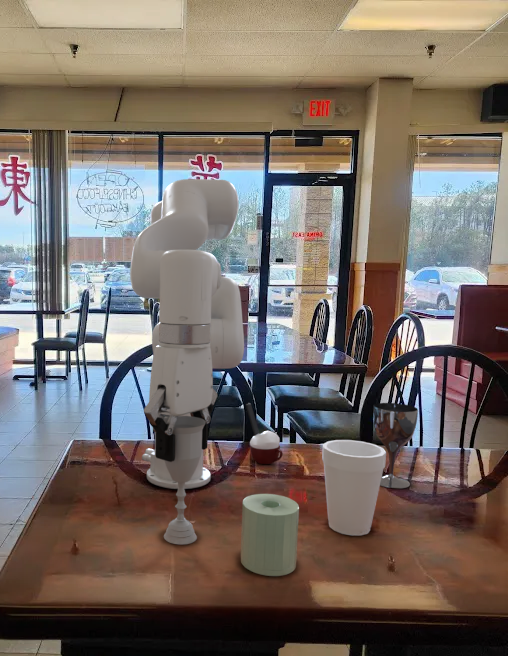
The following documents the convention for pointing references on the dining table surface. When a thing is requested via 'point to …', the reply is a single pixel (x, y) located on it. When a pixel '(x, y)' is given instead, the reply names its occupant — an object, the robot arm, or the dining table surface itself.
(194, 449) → the chalice
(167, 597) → the dining table surface
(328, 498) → the foam cup
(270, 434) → the cocoa
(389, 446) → the wine glass
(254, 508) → the mug
